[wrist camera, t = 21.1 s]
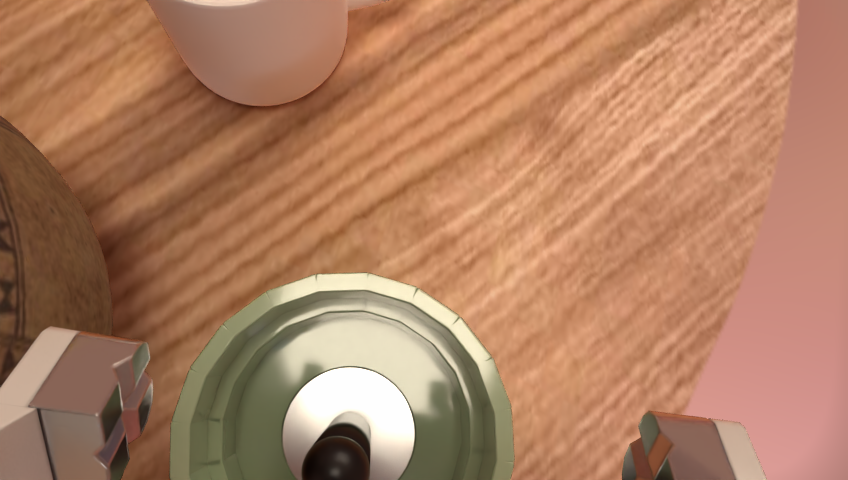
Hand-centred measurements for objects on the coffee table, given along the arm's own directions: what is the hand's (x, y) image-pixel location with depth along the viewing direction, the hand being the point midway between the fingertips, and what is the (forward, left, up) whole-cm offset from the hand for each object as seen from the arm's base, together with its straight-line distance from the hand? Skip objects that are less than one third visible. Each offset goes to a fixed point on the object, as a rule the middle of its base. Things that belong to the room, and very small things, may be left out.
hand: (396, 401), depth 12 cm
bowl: (+1, +2, -21) cm, 22 cm away
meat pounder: (+1, +2, -21) cm, 21 cm away
